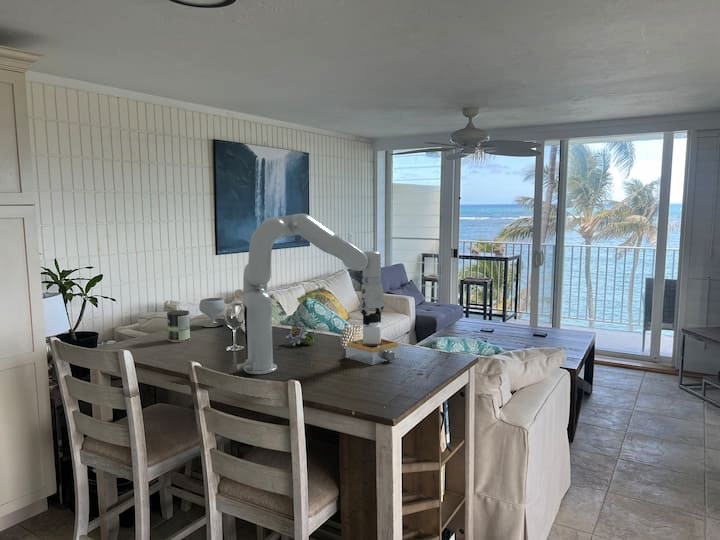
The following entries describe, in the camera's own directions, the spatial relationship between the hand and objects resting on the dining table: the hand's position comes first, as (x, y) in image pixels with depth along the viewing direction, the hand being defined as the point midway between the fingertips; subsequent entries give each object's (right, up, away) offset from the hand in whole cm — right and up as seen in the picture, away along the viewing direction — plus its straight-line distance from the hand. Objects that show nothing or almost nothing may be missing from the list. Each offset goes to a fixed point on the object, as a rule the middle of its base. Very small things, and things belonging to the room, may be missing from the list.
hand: (372, 322), depth 213 cm
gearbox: (+1, -15, 0) cm, 15 cm away
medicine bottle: (0, -8, +1) cm, 8 cm away
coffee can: (-94, -13, +36) cm, 101 cm away
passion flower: (-33, -13, +26) cm, 44 cm away
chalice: (-87, -9, +69) cm, 111 cm away
